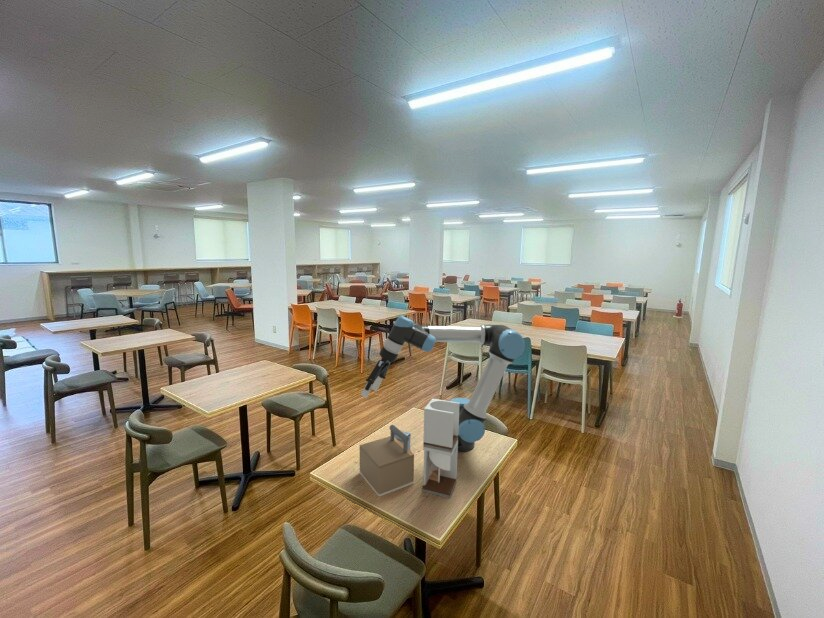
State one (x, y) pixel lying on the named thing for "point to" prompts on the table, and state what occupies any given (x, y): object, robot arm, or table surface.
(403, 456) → the lid flap
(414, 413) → the table surface
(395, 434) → the medicine box
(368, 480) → the carton
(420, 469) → the table surface
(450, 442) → the white tower
